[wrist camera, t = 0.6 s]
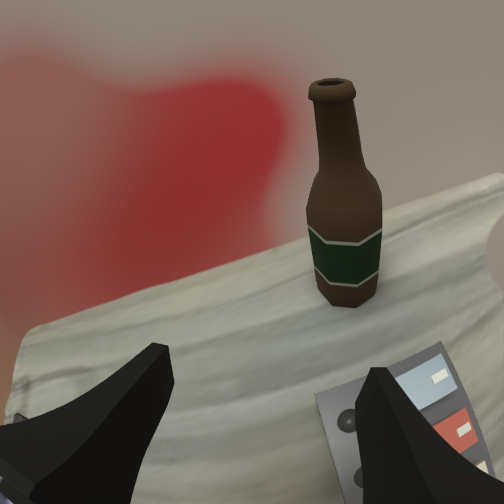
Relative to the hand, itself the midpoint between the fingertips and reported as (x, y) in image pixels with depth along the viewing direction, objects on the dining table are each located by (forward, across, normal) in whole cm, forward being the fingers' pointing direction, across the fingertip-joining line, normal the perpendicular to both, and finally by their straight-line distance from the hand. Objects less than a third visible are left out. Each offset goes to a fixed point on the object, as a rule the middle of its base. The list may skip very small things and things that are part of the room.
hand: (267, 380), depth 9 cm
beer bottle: (+24, -9, +9) cm, 27 cm away
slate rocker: (+8, -13, +10) cm, 18 cm away
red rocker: (+3, -14, +12) cm, 19 cm away
